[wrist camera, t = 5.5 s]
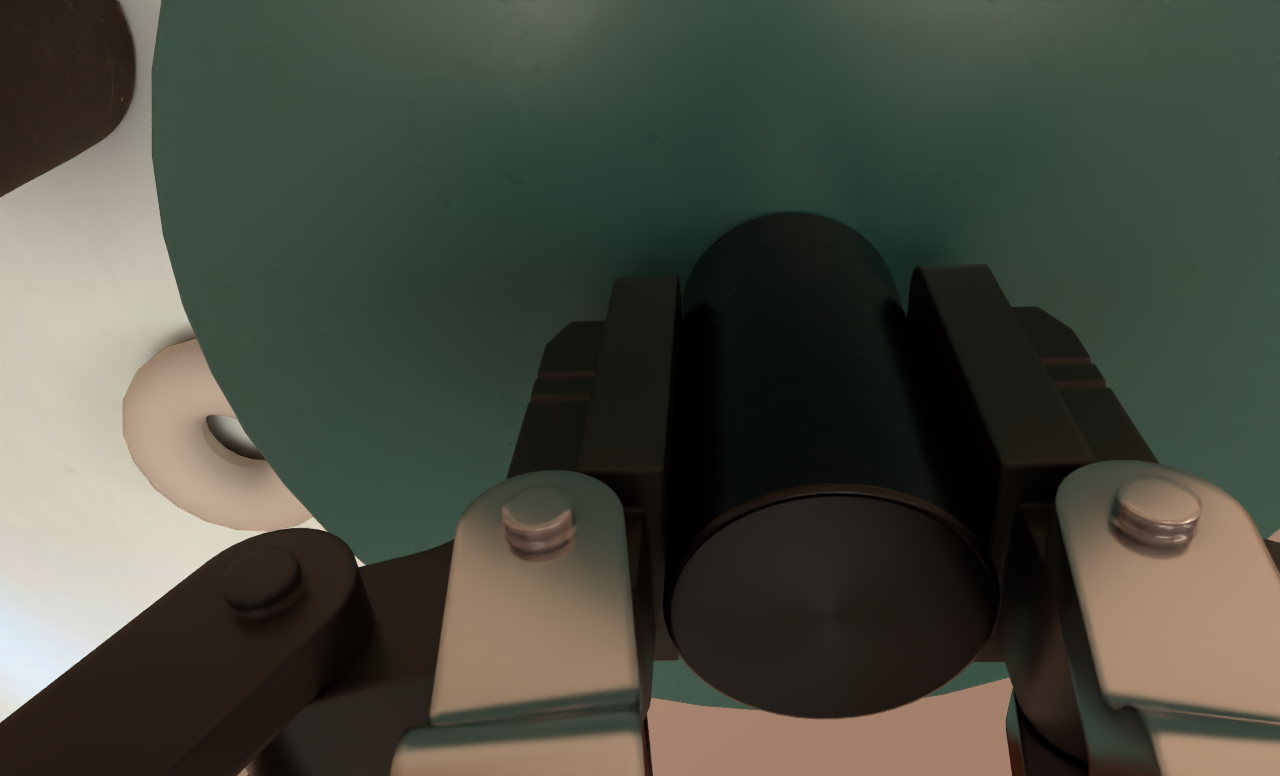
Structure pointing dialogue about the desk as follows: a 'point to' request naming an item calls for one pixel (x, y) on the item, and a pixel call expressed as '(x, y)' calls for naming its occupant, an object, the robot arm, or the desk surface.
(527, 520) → the robot arm
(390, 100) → the lid
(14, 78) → the container
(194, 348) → the donut
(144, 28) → the desk surface
